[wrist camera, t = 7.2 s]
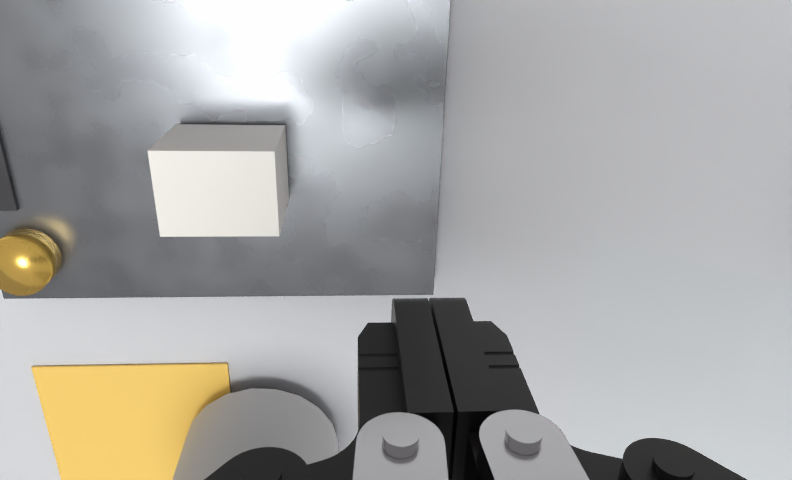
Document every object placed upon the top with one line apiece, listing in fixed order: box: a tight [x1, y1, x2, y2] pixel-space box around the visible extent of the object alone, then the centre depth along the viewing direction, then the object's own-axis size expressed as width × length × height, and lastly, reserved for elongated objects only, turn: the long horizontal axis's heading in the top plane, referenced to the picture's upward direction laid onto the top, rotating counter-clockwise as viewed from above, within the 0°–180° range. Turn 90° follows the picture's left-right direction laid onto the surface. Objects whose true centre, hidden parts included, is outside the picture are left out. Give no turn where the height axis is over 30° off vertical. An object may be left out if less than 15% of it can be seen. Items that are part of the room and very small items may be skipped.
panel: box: [0, 0, 450, 299], centre depth 22 cm, size 18×20×3 cm
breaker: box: [148, 124, 289, 237], centre depth 22 cm, size 4×3×4 cm
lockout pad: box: [31, 363, 231, 480], centre depth 31 cm, size 9×9×1 cm
